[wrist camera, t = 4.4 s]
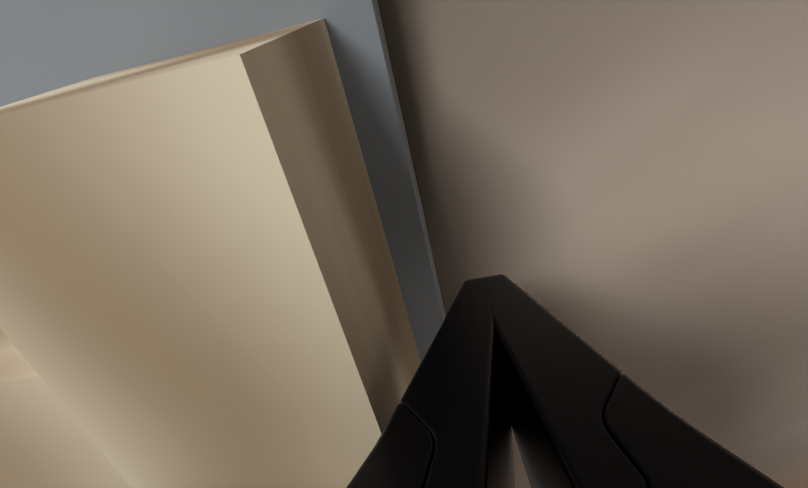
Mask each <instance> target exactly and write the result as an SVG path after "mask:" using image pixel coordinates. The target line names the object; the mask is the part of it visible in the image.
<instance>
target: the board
mask: <svg viewBox="0 0 808 488" xmlns="http://www.w3.org/2000/svg"><path fill="white" fill-rule="evenodd" d="M322 18H324V20H325V23H326V27H327V30H328V34H329V37H330V41H331V44H332V48H333V52H334V55H335V59H336V62H337V66H338V69H339V73H340V76H341V80H342V83H343V87H344V91H345V94H346V98H347V101H348V105H349V108H350V112H351V115H352V119H353V122H354V126H355V130H356V133H357V137H358V140H359V144H360V147H361V151H362V154H363V158H364V161H365V165H366V168H367V172H368V176H369V179H370V183H371V186H372V190H373V193H374V197H375V200H376V204H377V207H378V211H379V215H380V218H381V222H382V225H383V229H384V232H385V236H386V239H387V243H388V246H389V250H390V253H391V257H392V261H393V264H394V268H395V271H396V275H397V278H398V282H399V285H400V289H401V292H402V296H403V300H404V303H405V307H406V310H407V314H408V317H409V321H410V324H411V328H412V331H413V335H414V339H415V342H416V346H417V349H418V353H419V356H420V360H421V362H422V360H423V358H424V356H425V354H426V352H427V351H428V349H429V347H430V345H431V343H432V341H433V340H434V338H435V336H436V334H437V332H438V330H439V328H440V327H441V325H442V323H443V321H444V319H445V317H446V314H445V309H444V305H443V300H442V295H441V291H440V286H439V282H438V277H437V272H436V268H435V263H434V259H433V254H432V250H431V245H430V240H429V236H428V231H427V227H426V222H425V217H424V213H423V208H422V204H421V199H420V194H419V190H418V185H417V181H416V176H415V172H414V167H413V162H412V158H411V153H410V149H409V144H408V139H407V135H406V130H405V126H404V121H403V116H402V112H401V107H400V103H399V98H398V94H397V89H396V84H395V80H394V75H393V71H392V66H391V61H390V57H389V52H388V48H387V43H386V39H385V34H384V29H383V25H382V20H381V16H380V11H379V6H378V2H377V0H0V107H1V106H4V105H8V104H11V103H14V102H17V101H21V100H24V99H27V98H30V97H33V96H37V95H40V94H43V93H46V92H50V91H53V90H56V89H59V88H62V87H66V86H69V85H72V84H75V83H79V82H82V81H85V80H88V79H91V78H95V77H98V76H101V75H105V74H109V73H113V72H117V71H121V70H125V69H128V68H132V67H136V66H140V65H144V64H148V63H152V62H155V61H159V60H163V59H167V58H171V57H175V56H179V55H183V54H186V53H190V52H194V51H198V50H202V49H206V48H210V47H214V46H217V45H221V44H225V43H229V42H233V41H237V40H241V39H245V38H248V37H252V36H256V35H260V34H264V33H268V32H272V31H276V30H279V29H283V28H287V27H291V26H295V25H299V24H303V23H307V22H310V21H314V20H318V19H322Z"/></svg>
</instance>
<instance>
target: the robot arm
mask: <svg viewBox="0 0 808 488" xmlns="http://www.w3.org/2000/svg"><path fill="white" fill-rule="evenodd" d="M511 426H512V427H511ZM512 429H513V432H514V435H515V438H516V441H517V444H518V447H519V450H520V454H521V457H522V460H523V463H524V466H525V469H526V472H527V475H528V478H529V481H530V485H531V488H784V487H782V486H781V485H779V484H778V483H776V482H775V481H773V480H772V479H770V478H769V477H767V476H766V475H764V474H763V473H761V472H760V471H758V470H757V469H755V468H754V467H752V466H751V465H749V464H748V463H746V462H745V461H743V460H742V459H740V458H739V457H737V456H736V455H734V454H733V453H731V452H730V451H728V450H727V449H725V448H724V447H722V446H721V445H719V444H718V443H716V442H715V441H713V440H712V439H710V438H709V437H707V436H706V435H704V434H703V433H701V432H700V431H699V430H697V429H696V428H694V427H693V426H691V425H690V424H689V423H687V422H686V421H684V420H683V419H681V418H680V417H679V416H677V415H676V414H674V413H673V412H671V411H670V410H669V409H668V408H666V407H665V406H664V405H662V404H661V403H660V402H659V401H657V400H656V399H655V398H653V397H652V396H651V395H650V394H648V393H647V392H646V391H644V390H643V389H642V388H641V387H639V386H638V385H637V384H636V383H635V382H633V381H632V380H631V379H630V378H629V377H627V376H626V375H624V374H622V373H621V371H620V370H619V369H617V368H616V367H615V366H614V365H613V364H611V363H610V362H609V361H608V360H607V359H605V358H604V357H603V356H602V355H600V354H599V353H598V352H597V351H596V350H594V349H593V348H592V347H591V346H590V345H588V344H587V343H586V342H585V341H584V340H582V339H581V338H580V337H579V336H577V335H576V334H575V333H574V332H573V331H571V330H570V329H569V328H568V327H567V326H565V325H564V324H563V323H562V322H561V321H559V320H558V319H557V318H556V317H554V316H553V315H552V314H551V313H550V312H548V311H547V310H546V309H545V308H544V307H542V306H541V305H540V304H539V303H537V302H536V301H535V300H534V299H533V298H531V297H530V296H529V295H528V294H527V293H525V292H524V291H523V290H522V289H521V288H519V287H518V286H517V285H516V284H514V283H513V282H512V281H511V280H510V279H508V278H507V277H506V276H505V275H495V276H489V277H483V278H477V279H471V280H467V281H465V282H464V284H463V286H462V288H461V290H460V292H459V293H458V295H457V297H456V299H455V301H454V303H453V304H452V306H451V308H450V310H449V312H448V314H447V316H446V317H445V319H444V321H443V323H442V325H441V327H440V328H439V330H438V332H437V334H436V336H435V338H434V340H433V341H432V343H431V345H430V347H429V349H428V351H427V352H426V354H425V356H424V358H423V360H422V362H421V364H420V365H419V367H418V369H417V371H416V373H415V375H414V376H413V378H412V380H411V382H410V384H409V386H408V388H407V389H406V391H405V393H404V395H403V397H402V399H401V401H400V404H398V405H397V407H396V409H395V411H394V413H393V415H392V417H391V419H390V420H389V422H388V424H387V426H386V427H385V429H384V431H383V432H382V434H381V436H380V438H379V439H378V441H377V443H376V444H375V446H374V448H373V449H372V451H371V452H370V454H369V455H368V457H367V458H366V459H365V461H364V462H363V464H362V465H361V467H360V468H359V470H358V471H357V473H356V474H355V476H354V477H353V479H352V480H351V482H350V483H349V484H348V486H347V487H346V488H515V478H514V461H513V444H512Z"/></svg>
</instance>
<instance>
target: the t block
mask: <svg viewBox="0 0 808 488" xmlns="http://www.w3.org/2000/svg"><path fill="white" fill-rule="evenodd" d="M420 364H421V360H420V356H419V353H418V349H417V346H416V342H415V339H414V335H413V331H412V328H411V324H410V321H409V317H408V314H407V310H406V307H405V303H404V300H403V296H402V292H401V289H400V285H399V282H398V278H397V275H396V271H395V268H394V264H393V261H392V257H391V253H390V250H389V246H388V243H387V239H386V236H385V232H384V229H383V225H382V222H381V218H380V215H379V211H378V207H377V204H376V200H375V197H374V193H373V190H372V186H371V183H370V179H369V176H368V172H367V168H366V165H365V161H364V158H363V154H362V151H361V147H360V144H359V140H358V137H357V133H356V130H355V126H354V122H353V119H352V115H351V112H350V108H349V105H348V101H347V98H346V94H345V91H344V87H343V83H342V80H341V76H340V73H339V69H338V66H337V62H336V59H335V55H334V52H333V48H332V44H331V41H330V37H329V34H328V30H327V27H326V23H325V20H324V18H322V19H318V20H314V21H310V22H307V23H303V24H299V25H295V26H291V27H287V28H283V29H279V30H276V31H272V32H268V33H264V34H260V35H256V36H252V37H248V38H245V39H241V40H237V41H233V42H229V43H225V44H221V45H217V46H214V47H210V48H206V49H202V50H198V51H194V52H190V53H186V54H183V55H179V56H175V57H171V58H167V59H163V60H159V61H155V62H152V63H148V64H144V65H140V66H136V67H132V68H128V69H125V70H121V71H117V72H113V73H109V74H105V75H101V76H98V77H95V78H91V79H88V80H85V81H82V82H79V83H75V84H72V85H69V86H66V87H62V88H59V89H56V90H53V91H50V92H46V93H43V94H40V95H37V96H33V97H30V98H27V99H24V100H21V101H17V102H14V103H11V104H8V105H4V106H1V107H0V488H346V487H347V486H348V484H349V483H350V482H351V480H352V479H353V477H354V476H355V474H356V473H357V471H358V470H359V468H360V467H361V465H362V464H363V462H364V461H365V459H366V458H367V457H368V455H369V454H370V452H371V451H372V449H373V448H374V446H375V444H376V443H377V441H378V439H379V438H380V436H381V434H382V432H383V431H384V429H385V427H386V426H387V424H388V422H389V420H390V419H391V417H392V415H393V413H394V411H395V409H396V407H397V405H398V404H400V401H401V399H402V397H403V395H404V393H405V391H406V389H407V388H408V386H409V384H410V382H411V380H412V378H413V376H414V375H415V373H416V371H417V369H418V367H419V365H420Z"/></svg>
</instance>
